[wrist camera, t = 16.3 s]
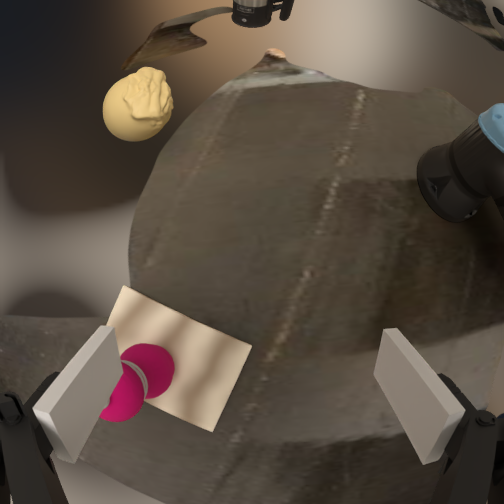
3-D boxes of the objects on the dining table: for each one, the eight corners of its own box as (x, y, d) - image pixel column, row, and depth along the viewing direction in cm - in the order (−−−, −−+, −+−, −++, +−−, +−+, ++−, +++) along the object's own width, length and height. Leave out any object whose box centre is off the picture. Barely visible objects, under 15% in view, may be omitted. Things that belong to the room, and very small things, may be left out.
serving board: (251, 344, 44) (252, 346, 42) (213, 427, 41) (212, 432, 39) (127, 286, 44) (123, 285, 42) (94, 367, 41) (89, 369, 39)
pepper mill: (183, 348, 41) (144, 375, 21) (172, 396, 40) (130, 453, 20) (134, 334, 41) (64, 346, 21) (125, 381, 39) (55, 421, 20)
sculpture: (176, 145, 50) (165, 106, 39) (109, 154, 49) (87, 120, 38) (178, 94, 52) (169, 54, 41) (117, 104, 51) (99, 67, 40)
